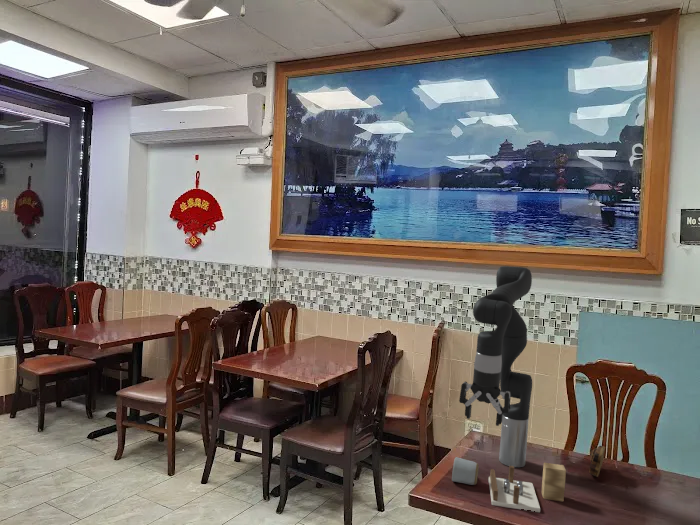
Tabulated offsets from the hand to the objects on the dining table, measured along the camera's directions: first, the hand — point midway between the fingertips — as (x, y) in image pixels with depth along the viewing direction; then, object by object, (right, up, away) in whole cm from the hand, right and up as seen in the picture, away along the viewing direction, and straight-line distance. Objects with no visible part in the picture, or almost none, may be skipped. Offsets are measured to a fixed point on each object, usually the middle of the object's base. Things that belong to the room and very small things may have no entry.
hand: (482, 421), depth 151 cm
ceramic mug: (-1, -27, +22) cm, 35 cm away
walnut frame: (+10, -26, +14) cm, 31 cm away
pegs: (+13, -27, +13) cm, 32 cm away
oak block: (+26, -29, +14) cm, 41 cm away
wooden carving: (+49, -29, +33) cm, 65 cm away
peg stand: (+13, -28, +13) cm, 33 cm away
